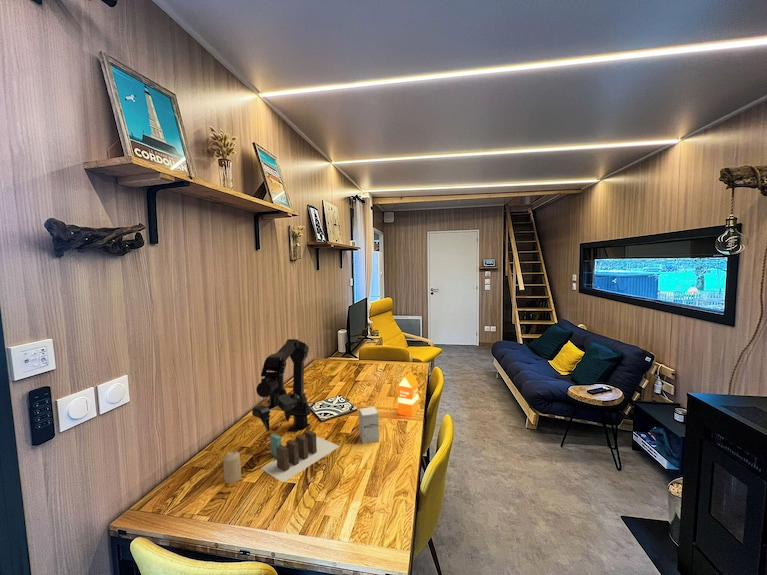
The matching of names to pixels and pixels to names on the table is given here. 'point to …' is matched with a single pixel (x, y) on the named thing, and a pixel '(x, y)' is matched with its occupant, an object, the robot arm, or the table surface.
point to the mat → (301, 461)
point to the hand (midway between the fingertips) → (278, 425)
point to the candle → (232, 467)
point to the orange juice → (408, 395)
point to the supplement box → (368, 425)
